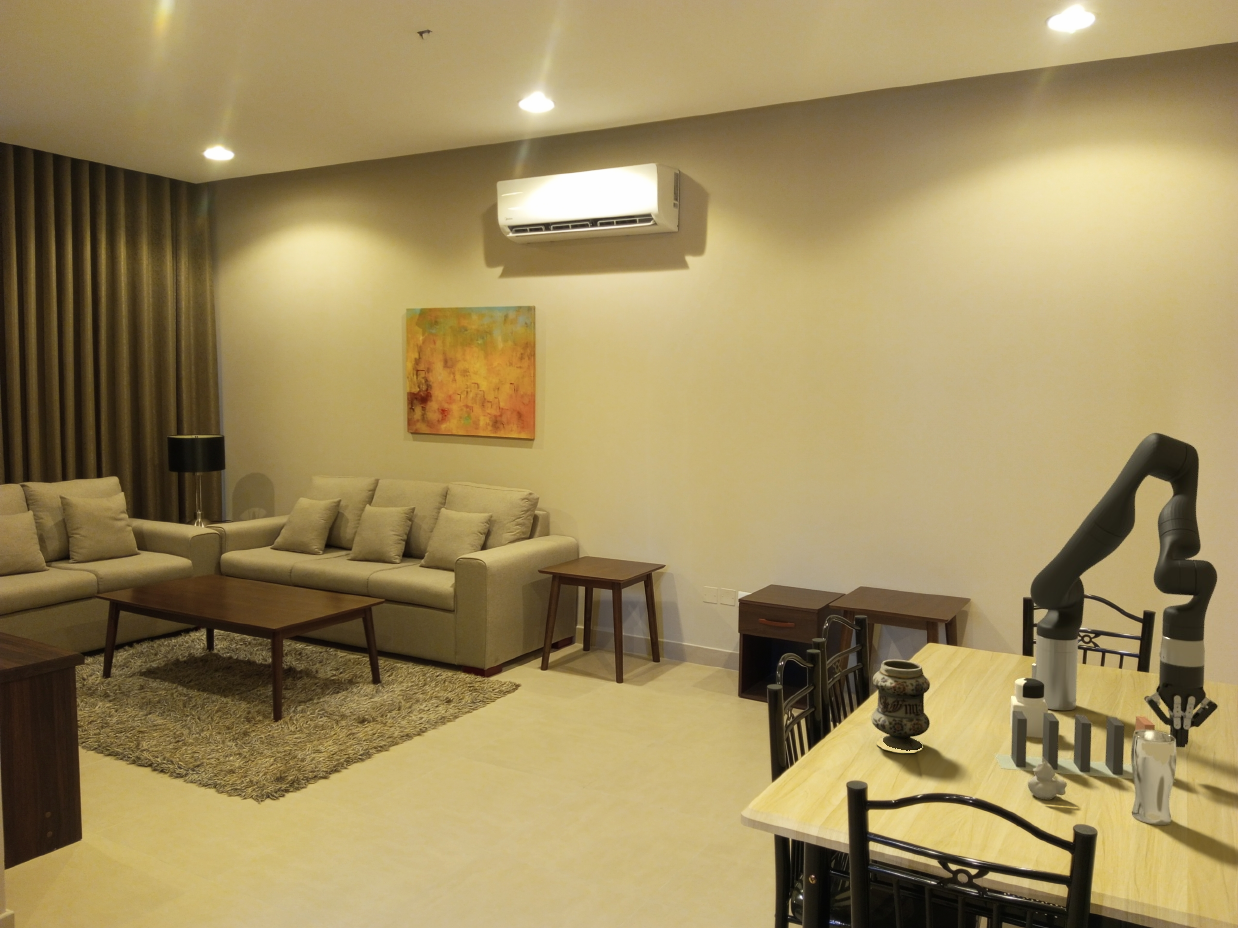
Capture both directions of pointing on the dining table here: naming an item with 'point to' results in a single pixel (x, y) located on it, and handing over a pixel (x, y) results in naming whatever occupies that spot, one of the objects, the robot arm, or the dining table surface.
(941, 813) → the dining table surface
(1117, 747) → the domino
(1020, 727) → the domino
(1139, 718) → the domino
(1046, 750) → the domino
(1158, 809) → the beer glass
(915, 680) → the apothecary jar
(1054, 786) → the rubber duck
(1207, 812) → the dining table surface
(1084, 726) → the domino
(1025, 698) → the medicine bottle
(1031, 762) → the mat
